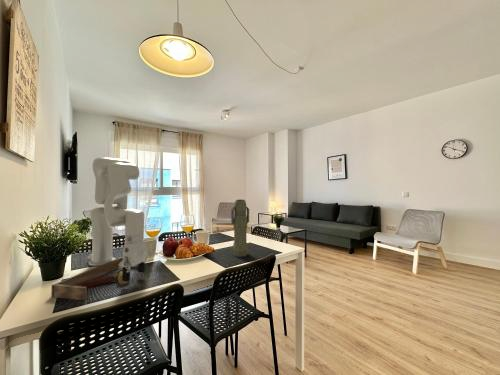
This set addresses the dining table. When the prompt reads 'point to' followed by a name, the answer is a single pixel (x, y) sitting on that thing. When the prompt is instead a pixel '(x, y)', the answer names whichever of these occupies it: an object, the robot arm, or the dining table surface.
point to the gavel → (104, 280)
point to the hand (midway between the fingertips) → (134, 276)
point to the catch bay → (79, 292)
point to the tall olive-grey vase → (240, 227)
